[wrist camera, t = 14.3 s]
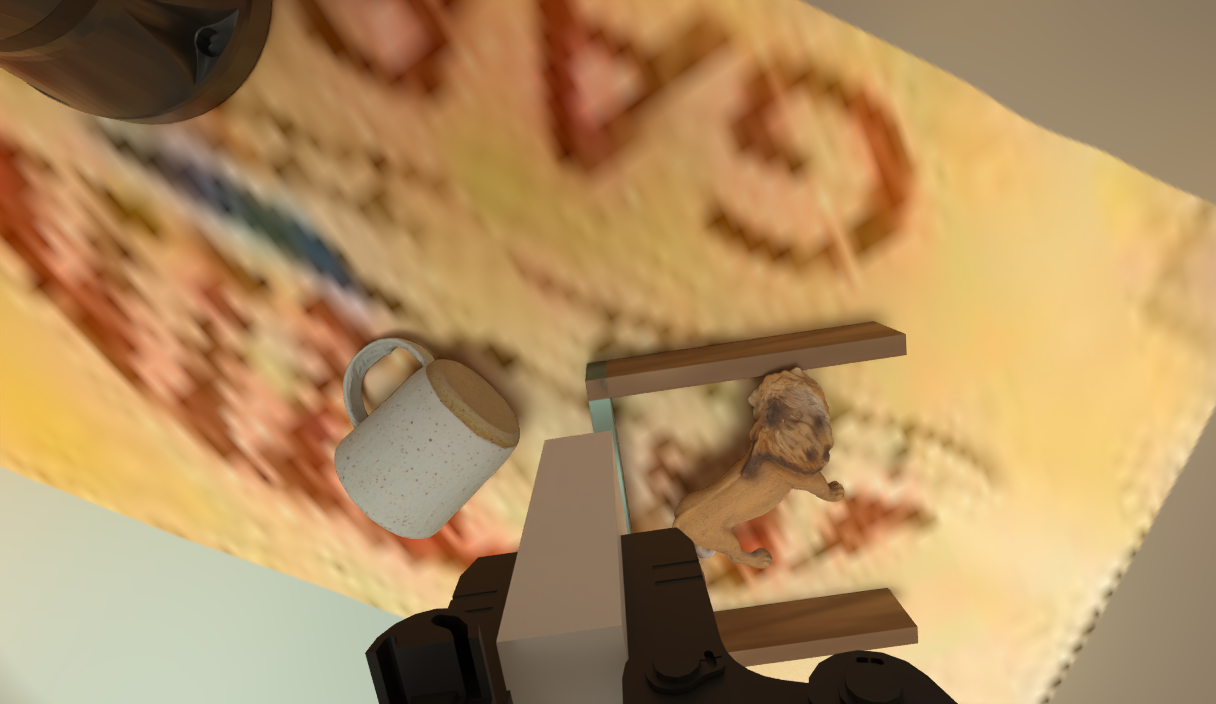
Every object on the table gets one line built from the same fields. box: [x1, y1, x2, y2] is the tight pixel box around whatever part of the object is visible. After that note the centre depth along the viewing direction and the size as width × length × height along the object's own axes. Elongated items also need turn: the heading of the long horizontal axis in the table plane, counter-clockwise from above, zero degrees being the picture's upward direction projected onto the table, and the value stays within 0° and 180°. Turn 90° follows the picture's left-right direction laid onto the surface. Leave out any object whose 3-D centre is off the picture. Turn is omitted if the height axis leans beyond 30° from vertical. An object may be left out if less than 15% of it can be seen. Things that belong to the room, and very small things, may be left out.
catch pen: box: [585, 322, 918, 667], centre depth 38 cm, size 20×18×4 cm
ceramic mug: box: [335, 338, 520, 539], centre depth 35 cm, size 11×8×8 cm
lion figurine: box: [672, 367, 844, 584], centre depth 36 cm, size 15×5×9 cm
